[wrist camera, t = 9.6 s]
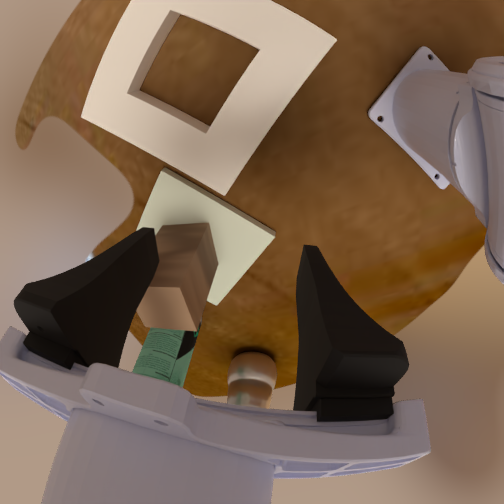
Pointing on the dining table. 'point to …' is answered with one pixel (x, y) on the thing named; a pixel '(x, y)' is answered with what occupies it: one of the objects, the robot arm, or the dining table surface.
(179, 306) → the walnut block
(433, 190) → the dining table surface
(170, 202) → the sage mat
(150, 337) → the spray can
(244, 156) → the socket board
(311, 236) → the dining table surface
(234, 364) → the plastic bottle
